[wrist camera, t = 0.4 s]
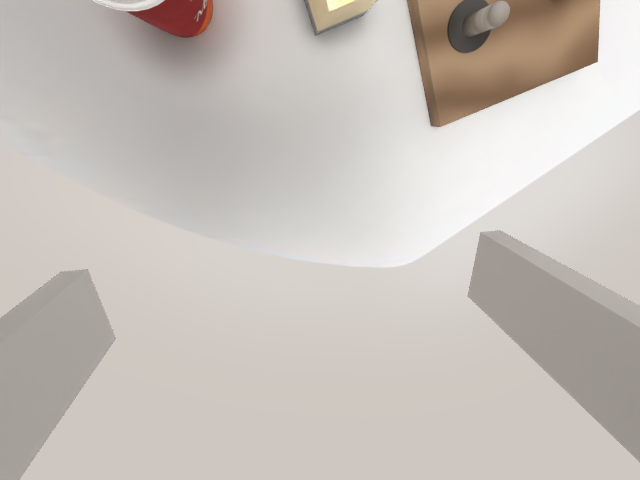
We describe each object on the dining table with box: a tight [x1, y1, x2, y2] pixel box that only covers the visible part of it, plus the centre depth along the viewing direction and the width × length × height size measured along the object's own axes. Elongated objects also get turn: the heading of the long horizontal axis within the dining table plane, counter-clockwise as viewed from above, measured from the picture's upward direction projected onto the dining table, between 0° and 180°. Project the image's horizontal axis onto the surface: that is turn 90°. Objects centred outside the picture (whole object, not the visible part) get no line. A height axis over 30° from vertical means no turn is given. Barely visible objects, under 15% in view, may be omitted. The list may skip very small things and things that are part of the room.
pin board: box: [407, 0, 600, 127], centre depth 27 cm, size 16×18×7 cm
